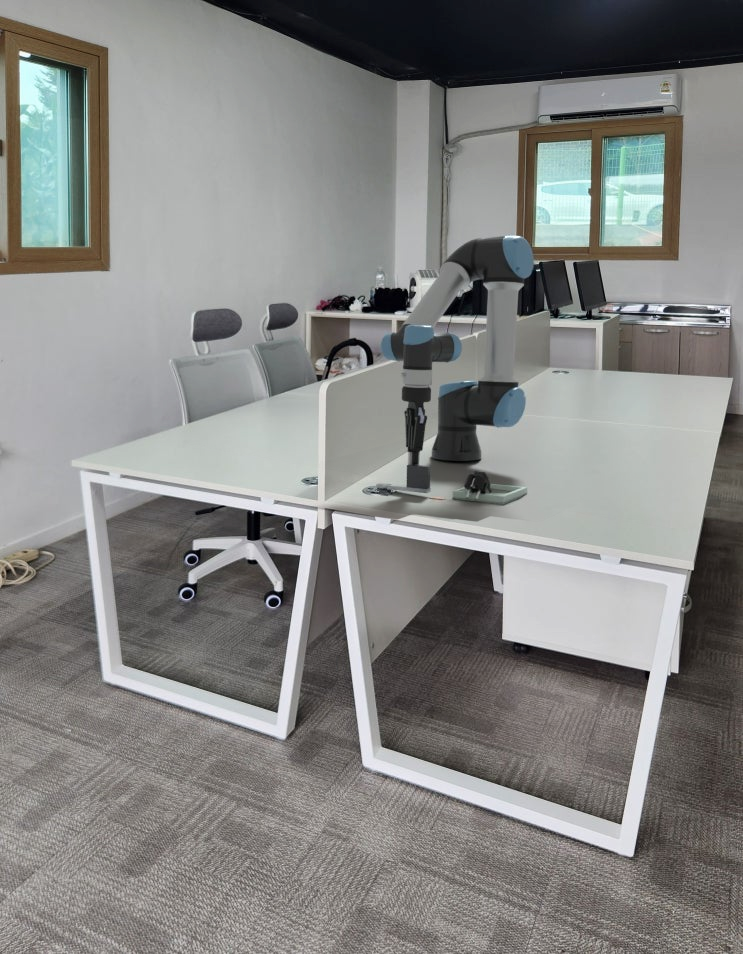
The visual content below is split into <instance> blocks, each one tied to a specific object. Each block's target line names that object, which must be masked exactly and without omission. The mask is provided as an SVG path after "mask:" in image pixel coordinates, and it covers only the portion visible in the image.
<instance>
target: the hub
mask: <svg viewBox="0 0 743 954" xmlns="http://www.w3.org/2000/svg"><path fill="white" fill-rule="evenodd" d="M374 490H377V491H379V492H375V493H374V494H377V493H380V494H379V495H383V494H385V495H384V496H388V495H389V494H391V493H393V494H395V493H394V492H391V490H389V489H376V488H375V489H374ZM391 495H392V494H391ZM389 496H390V495H389Z"/></svg>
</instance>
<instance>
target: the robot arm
mask: <svg viewBox="0 0 743 954" xmlns="http://www.w3.org/2000/svg"><path fill="white" fill-rule="evenodd" d="M534 259H535V258H534V253H533V250H532V247H531V245H530V244H529V242H528V241H527V239H526V238H524V237H523V236H520V235H503V236H502V235H501V236H492V237H481V238H480V237H479V238H474V239H471V240H468V241H467V242H465V243H463V244H462V245H460V246H459V247H458V248H456V250H455V251H453V252H452V253H451V254H450V255H449V256H448V257H447V259H445V261H444V262H443V263H442V265H441V266H440V268H439V274H438V276H437V277H436V279H435V280H434V281H433V282H432V284H431V285H430V287H429V289H427V291H426V292H425V294H424V295H423V296H422V298H421V299H420V300H419V302H418V303H417V305H416V306H415V307H414V309H413V310H412V311H411V313H410V314H409V315H408V317H406V319H405V320H404V322H403V323H402V325H401V326H400V328H399V329H398V330H397V332H389V333H386V334H384V335H383V337H382V339H381V342H380V351H381V353H382V356H383V357H384V358H385V359H387V360H389V361H396V362H402V363H403V365H402V372H401V373H400V377H402V382H401V383H402V385H404V386H402V387H401V400H402V401H403V402H407V403H408V404H407V407H406V410H404V412H403V414H404V420H405V422H404V423H405V424H404V426H405V447H406V448H407V465H409V464H411V465H420V454H421V452H422V451H423V449H424V441H425V440H424V439H425V433H426V424H427V420H428V416H427V415H426V409H425V406H424V404H425V403H429V402H431V399H432V388H431V387H430V386H432V382H433V363H449V362H454V361H456V360H458V359H459V357H460V356H461V353H462V351H463V344H462V340H461V339H460V338H459V336H457V335H456V334H454V333H449V332H444V333H442V332H441V333H438V332H437V333H436V332H435V331H434V328H435V327H436V325H437V324H438V322H439V321H440V319H441V318H442V316H443V315H444V314H445V312H446V311H447V310H448V308H449V307H450V305H451V304H452V303H453V301H454V300H455V298H456V297H457V296H458V294H459V293H460V291H462V290H465V289H466V288H467V287H469V285H470V284H471V283H472V282H475V281H477V280H483V281H482V282H483V283H482V285H483V286H484V287H485V289H487V306H486V325H485V326H486V327H485V344H484V345H485V347H484V361H483V362H484V364H483V366H484V367H483V374H482V375H481V377H479V378H478V380H467V381H465V380H464V381H456V382H447V383H442V384H441V385H440V386H439V389H438V396H437V400H438V405H437V409H438V411H437V434H436V437H435V440H434V443H433V444H432V449H431V458H433V459H435V460H439V461H452V462H453V461H456V462H458V461H459V462H468V461H469V462H470V461H477V460H478V461H479V460H481V459H482V449H481V446H480V442H479V437H478V434H477V426H483V427H495V428H511V427H514V426H516V425H517V424H518V423H519V422H520V420H521V419H522V417H523V416H524V412H525V409H526V403H527V399H526V397H527V396H526V395H525V391H524V389H522V388H520V387H519V380H518V378H516V376H515V374H514V373H515V357H516V356H515V355H516V337H517V320H518V318H517V317H518V305H519V304H518V303H519V302H518V301H519V291H520V290H521V289H522V288H523V287H524V286H525V279H527V278H529V277H530V276H531V275H532V273H533V270H534V265H535V261H534ZM434 332H435V333H434Z"/></svg>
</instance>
